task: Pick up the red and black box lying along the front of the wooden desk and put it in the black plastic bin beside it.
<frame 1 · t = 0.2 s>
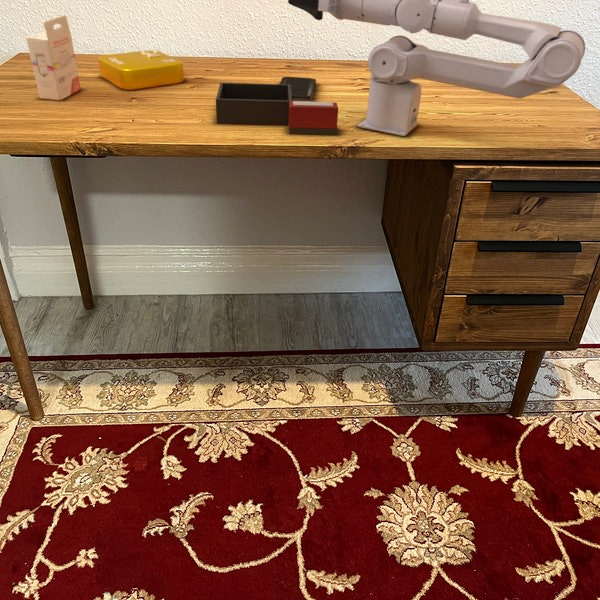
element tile: (142, 79, 136), on the table
bin: (255, 114, 117), on the table
ink cartridge box: (60, 95, 124), on the table
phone: (296, 92, 132), on the table
red and black box: (312, 131, 111), on the table
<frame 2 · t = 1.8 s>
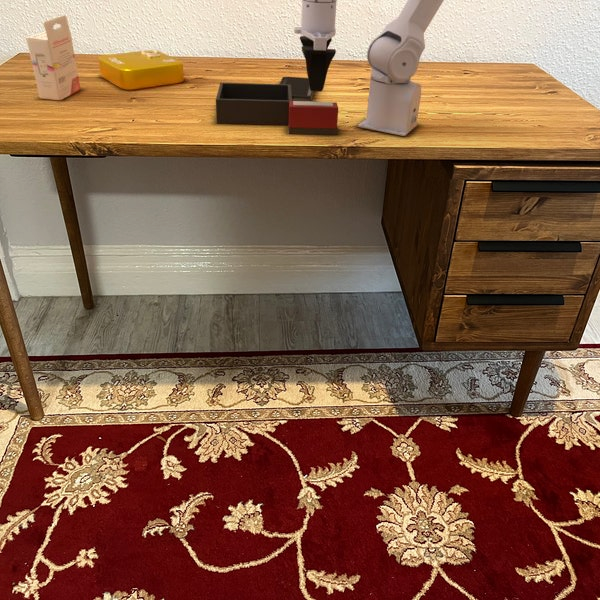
hand: (314, 84, 106), 8 cm above the table, tool pointing down, fingers open, 7 cm apart
nothing on the table moved.
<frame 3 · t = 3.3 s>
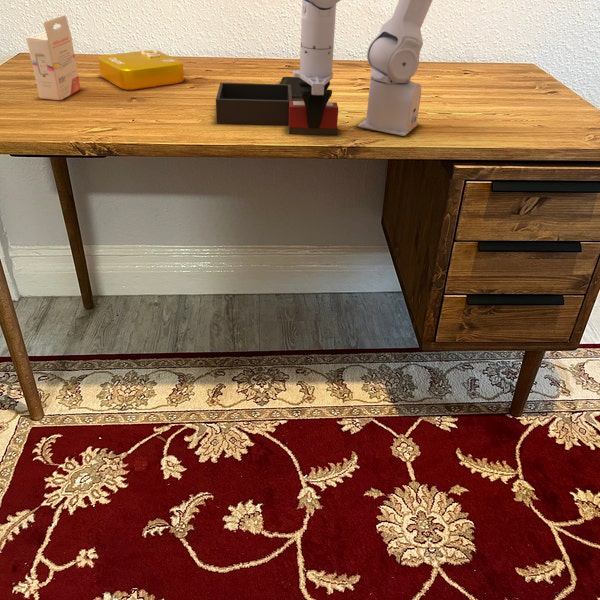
hand: (313, 124, 110), 1 cm above the table, tool pointing down, fingers closed on red and black box, 3 cm apart
red and black box: (312, 131, 111), on the table, touching gripper
everything else where it was.
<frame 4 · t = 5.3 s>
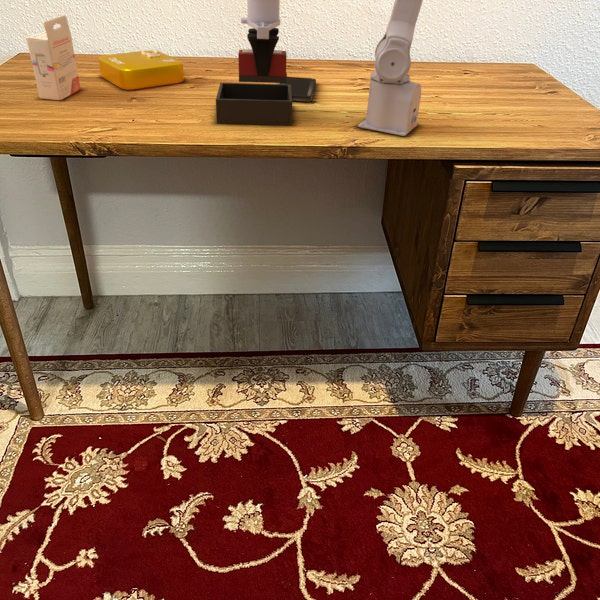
hand: (263, 72, 112), 8 cm above the table, tool pointing down, fingers closed on red and black box, 3 cm apart
red and black box: (263, 80, 112), point 7 cm above the table, touching gripper
everything else where it was.
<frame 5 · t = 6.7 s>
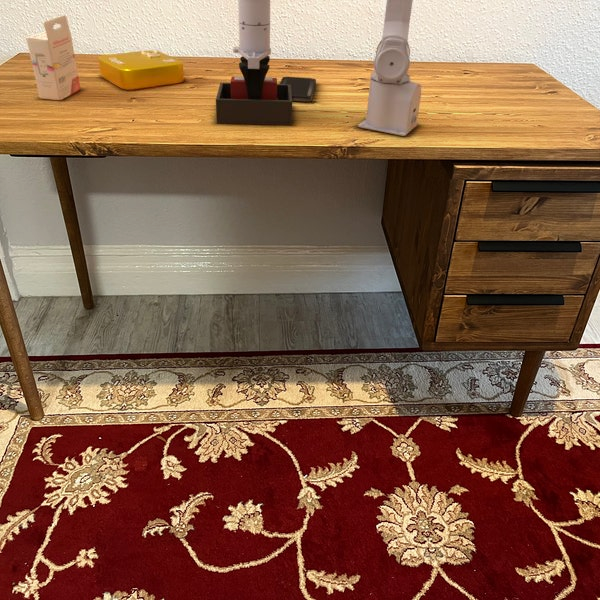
hand: (254, 98, 116), 3 cm above the table, tool pointing down, fingers closed on red and black box, 3 cm apart
red and black box: (254, 105, 116), point 2 cm above the table, touching gripper
everything else where it was.
when the fingers open (2 cm above the table, at t = 7.4 s): red and black box stays where it is, resting on bin.
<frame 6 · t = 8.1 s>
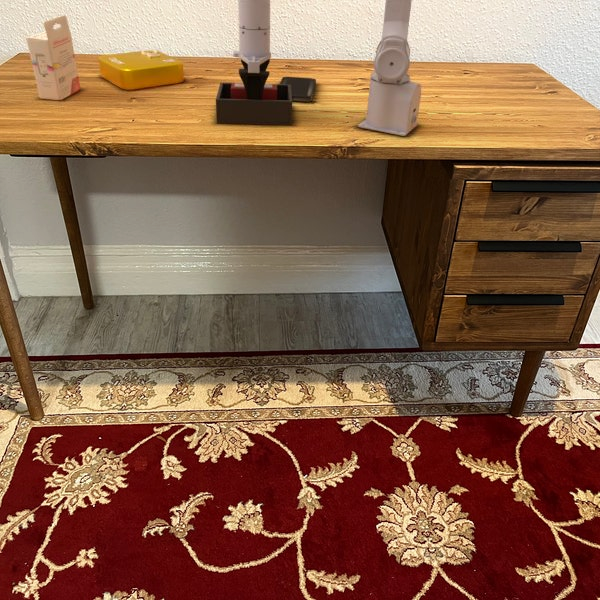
hand: (255, 102, 116), 2 cm above the table, tool pointing down, fingers open, 7 cm apart
red and black box: (254, 112, 117), resting on bin
everything else where it was.
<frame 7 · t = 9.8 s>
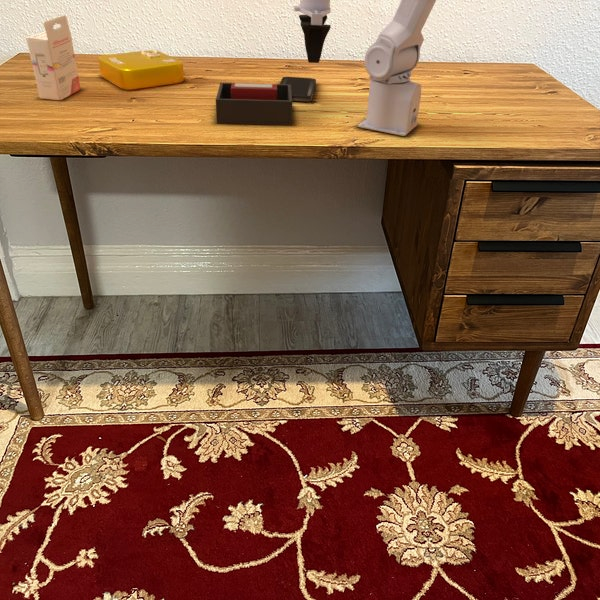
hand: (312, 57, 119), 9 cm above the table, tool pointing down, fingers open, 7 cm apart
nothing on the table moved.
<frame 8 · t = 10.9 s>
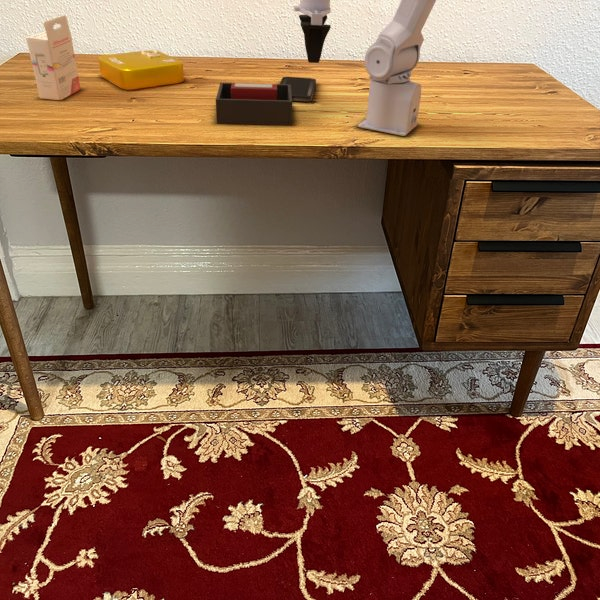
hand: (312, 57, 119), 9 cm above the table, tool pointing down, fingers open, 7 cm apart
nothing on the table moved.
at the end: red and black box inside the target area in the bin (0.0 cm from its centre), point 0.5 cm above the bin's base; red and black box tilted 0°; the gripper is holding nothing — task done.
